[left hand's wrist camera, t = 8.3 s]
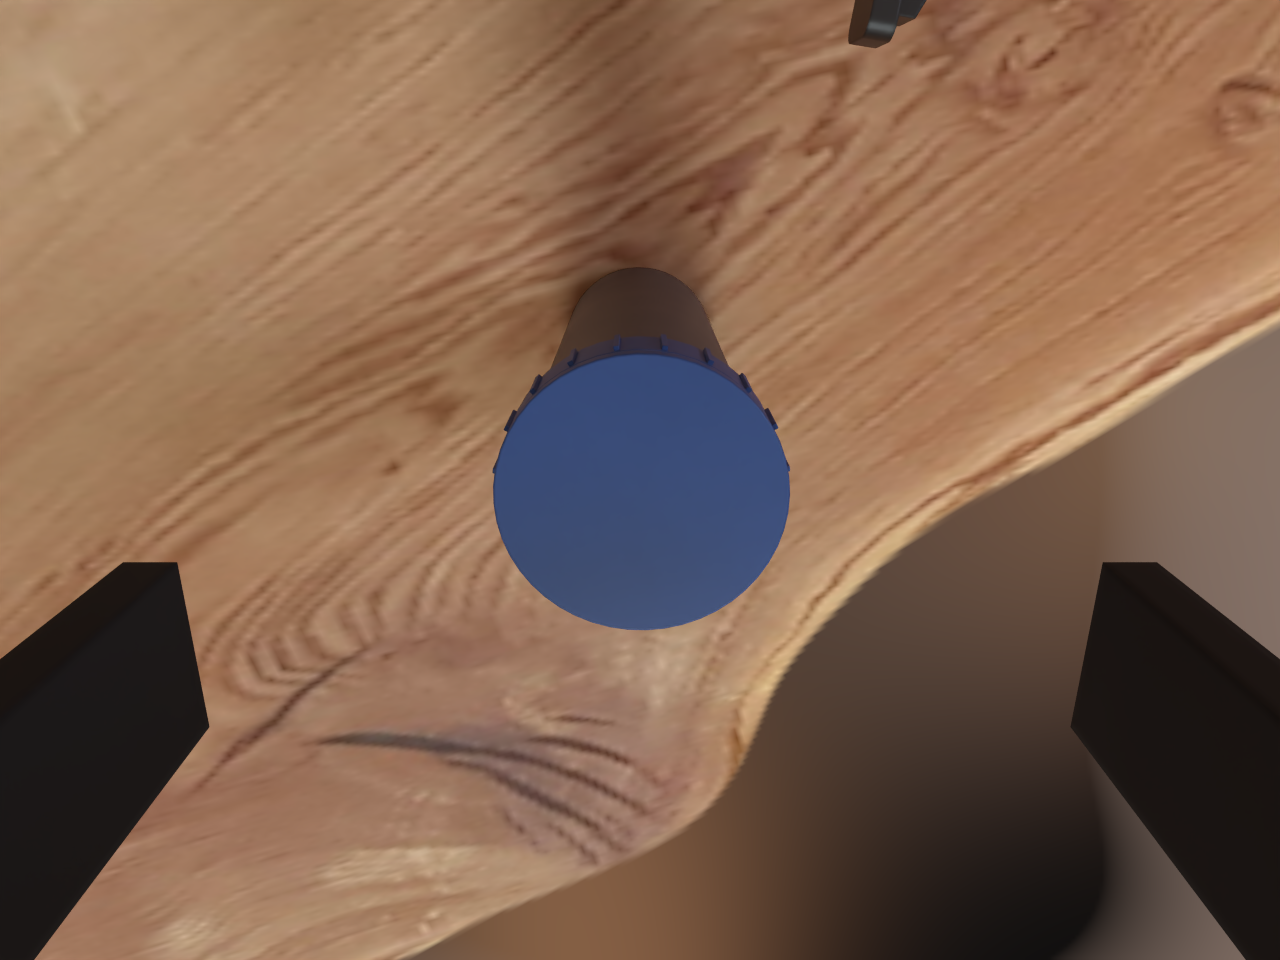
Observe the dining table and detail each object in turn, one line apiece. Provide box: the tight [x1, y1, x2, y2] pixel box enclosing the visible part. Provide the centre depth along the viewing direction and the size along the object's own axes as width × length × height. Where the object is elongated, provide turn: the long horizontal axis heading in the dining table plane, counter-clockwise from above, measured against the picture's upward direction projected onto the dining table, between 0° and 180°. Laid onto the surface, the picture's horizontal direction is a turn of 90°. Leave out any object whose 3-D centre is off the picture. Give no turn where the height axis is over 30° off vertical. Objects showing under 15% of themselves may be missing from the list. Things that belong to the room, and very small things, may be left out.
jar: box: [551, 268, 728, 368], centre depth 24 cm, size 5×5×15 cm
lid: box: [493, 334, 790, 630], centre depth 18 cm, size 6×6×2 cm
